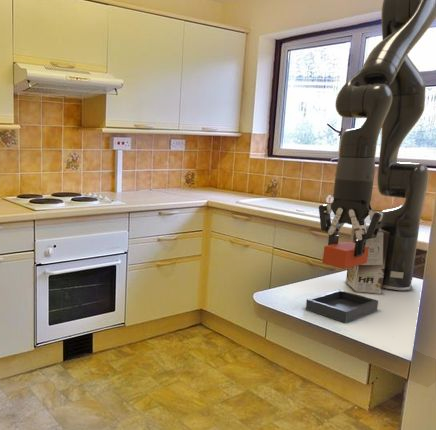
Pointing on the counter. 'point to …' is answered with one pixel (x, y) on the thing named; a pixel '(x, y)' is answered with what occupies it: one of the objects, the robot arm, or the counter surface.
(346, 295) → the tray
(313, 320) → the counter surface
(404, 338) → the counter surface
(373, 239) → the coffee box
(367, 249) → the orange-red rectangular block
